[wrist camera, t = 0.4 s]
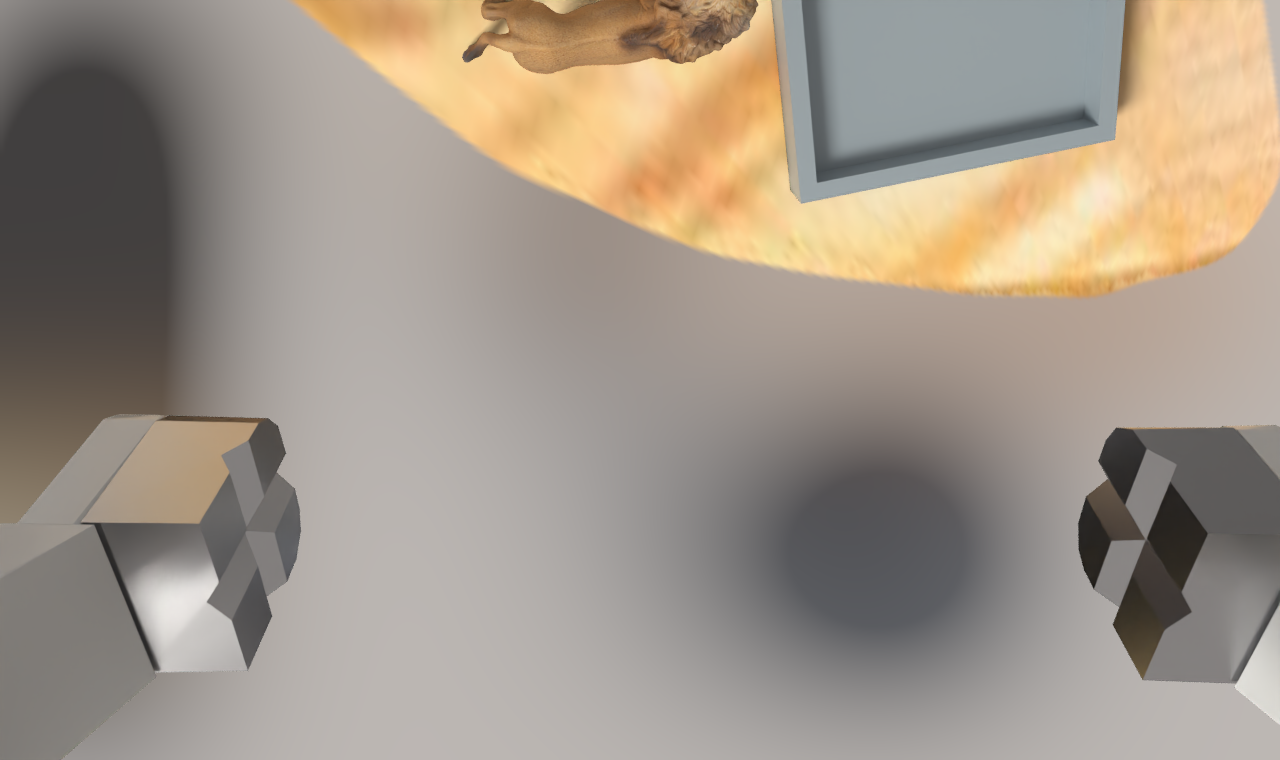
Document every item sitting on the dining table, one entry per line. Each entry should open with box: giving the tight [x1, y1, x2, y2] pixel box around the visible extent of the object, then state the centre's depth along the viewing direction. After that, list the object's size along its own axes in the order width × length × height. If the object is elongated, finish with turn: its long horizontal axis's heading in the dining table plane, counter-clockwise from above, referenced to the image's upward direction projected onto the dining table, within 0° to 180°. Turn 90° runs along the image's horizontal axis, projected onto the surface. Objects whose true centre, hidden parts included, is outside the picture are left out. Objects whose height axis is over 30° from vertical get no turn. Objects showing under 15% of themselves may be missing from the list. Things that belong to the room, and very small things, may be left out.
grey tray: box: [771, 0, 1125, 203], centre depth 51 cm, size 16×18×2 cm
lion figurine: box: [462, 0, 758, 74], centre depth 46 cm, size 15×5×9 cm, turn 107°
